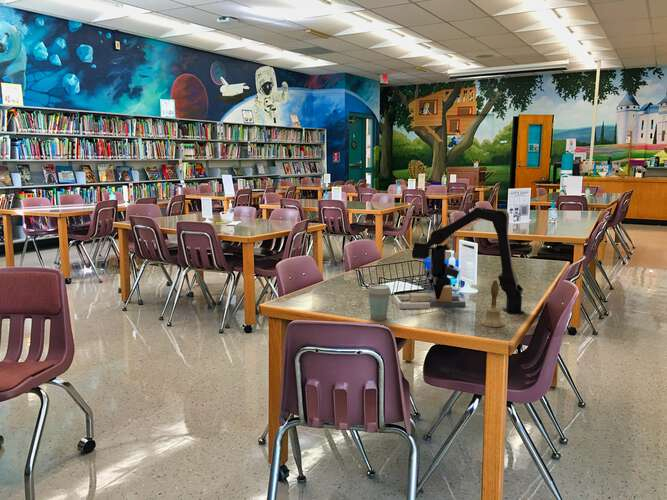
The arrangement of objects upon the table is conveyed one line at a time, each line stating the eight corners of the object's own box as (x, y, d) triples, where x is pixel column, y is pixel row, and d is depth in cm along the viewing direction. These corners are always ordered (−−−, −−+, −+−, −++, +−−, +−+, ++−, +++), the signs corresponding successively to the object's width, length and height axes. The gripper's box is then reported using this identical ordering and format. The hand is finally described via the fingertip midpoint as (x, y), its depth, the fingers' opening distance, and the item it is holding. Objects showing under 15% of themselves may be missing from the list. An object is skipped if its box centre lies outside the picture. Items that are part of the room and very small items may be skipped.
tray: (429, 308, 232) (429, 303, 231) (399, 308, 231) (399, 303, 230) (421, 299, 246) (421, 294, 245) (393, 299, 245) (393, 294, 244)
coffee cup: (388, 314, 222) (389, 284, 220) (391, 321, 213) (392, 289, 211) (366, 314, 221) (366, 284, 219) (368, 321, 213) (368, 289, 211)
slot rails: (465, 306, 234) (465, 302, 234) (428, 307, 233) (428, 302, 233) (457, 299, 245) (457, 295, 245) (422, 300, 244) (422, 296, 244)
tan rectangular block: (452, 305, 237) (453, 288, 235) (431, 305, 236) (431, 288, 235) (448, 301, 242) (449, 284, 241) (427, 301, 242) (428, 285, 241)
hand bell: (486, 319, 216) (488, 277, 214) (508, 323, 211) (510, 280, 208) (476, 324, 210) (478, 281, 207) (498, 328, 205) (501, 284, 202)
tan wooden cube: (420, 305, 237) (421, 295, 236) (411, 305, 236) (411, 295, 236) (418, 302, 241) (419, 293, 240) (409, 302, 240) (409, 293, 240)
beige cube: (430, 305, 237) (431, 295, 236) (421, 305, 237) (421, 295, 236) (428, 302, 241) (428, 293, 240) (418, 302, 241) (419, 293, 240)
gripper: (464, 264, 228) (462, 303, 230) (451, 256, 246) (450, 292, 248) (436, 264, 227) (435, 303, 229) (425, 256, 245) (424, 292, 248)
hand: (436, 297), depth 239 cm, fingers closed on tan rectangular block, 3 cm apart
